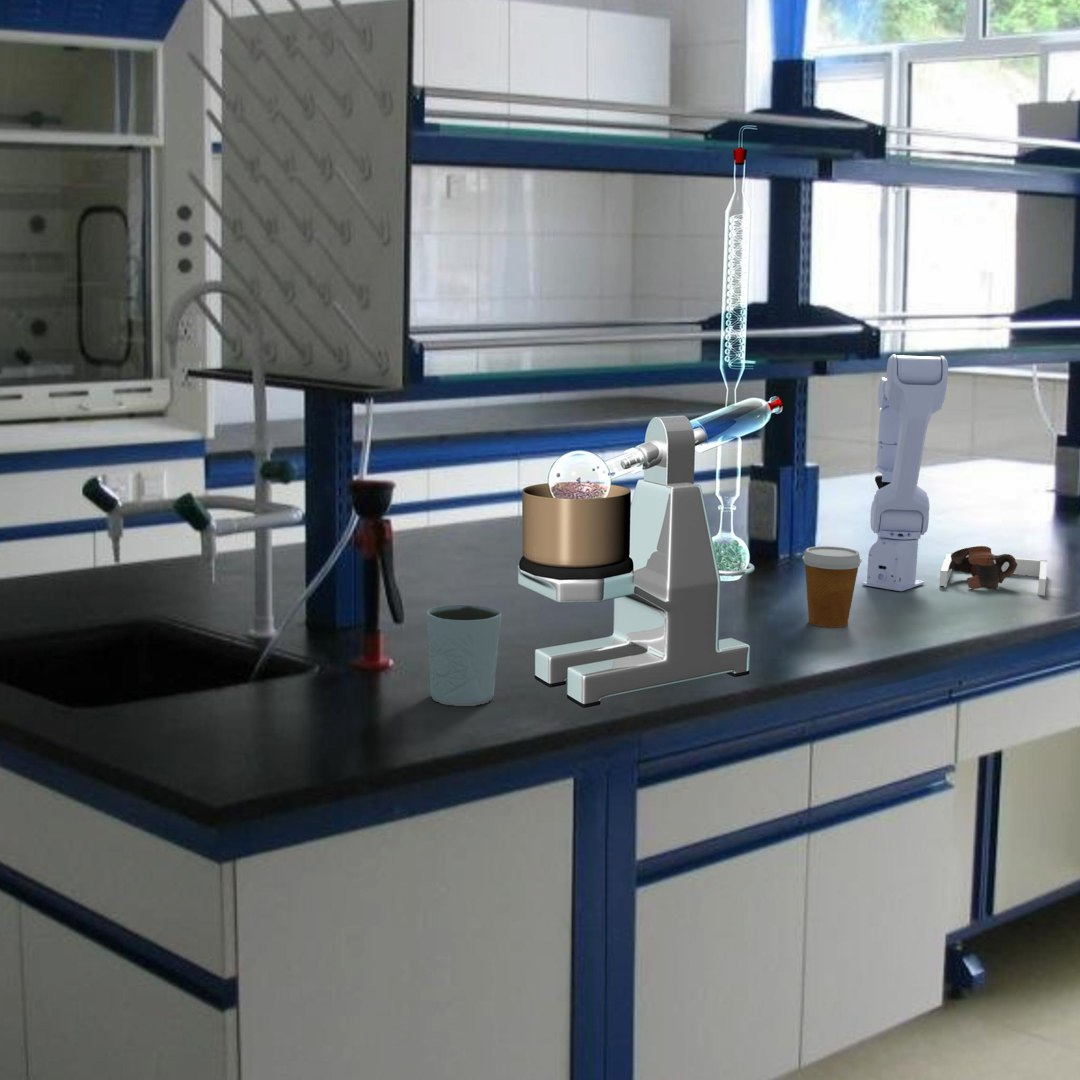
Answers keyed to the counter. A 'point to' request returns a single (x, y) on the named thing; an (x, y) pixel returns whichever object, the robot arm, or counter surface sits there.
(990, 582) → the pottery mug
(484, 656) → the grey tapered cup
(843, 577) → the disposable coffee cup
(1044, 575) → the u-shaped white bracket
